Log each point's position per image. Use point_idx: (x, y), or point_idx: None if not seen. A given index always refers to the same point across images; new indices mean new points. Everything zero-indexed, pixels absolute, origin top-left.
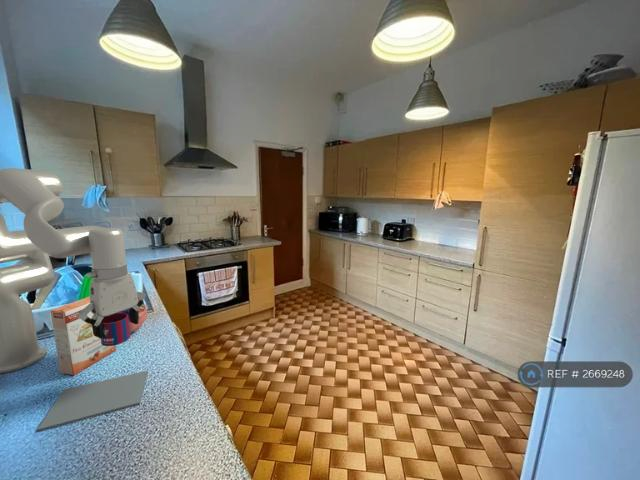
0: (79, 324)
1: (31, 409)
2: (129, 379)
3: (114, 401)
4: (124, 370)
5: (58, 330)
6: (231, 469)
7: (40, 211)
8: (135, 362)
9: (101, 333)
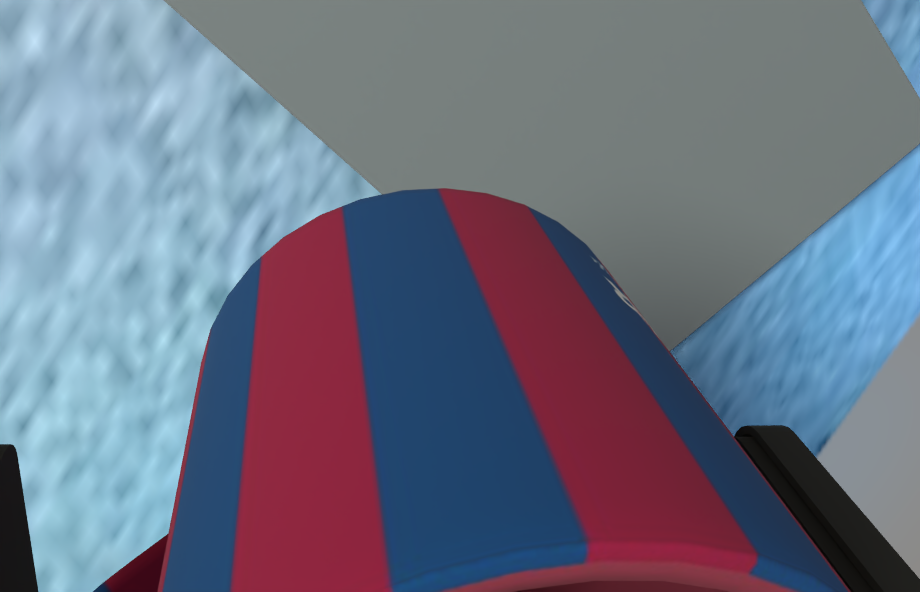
0: None
1: (773, 377)
2: (342, 34)
3: None
4: (257, 245)
5: None
6: None
7: None
8: (124, 272)
9: (844, 497)
